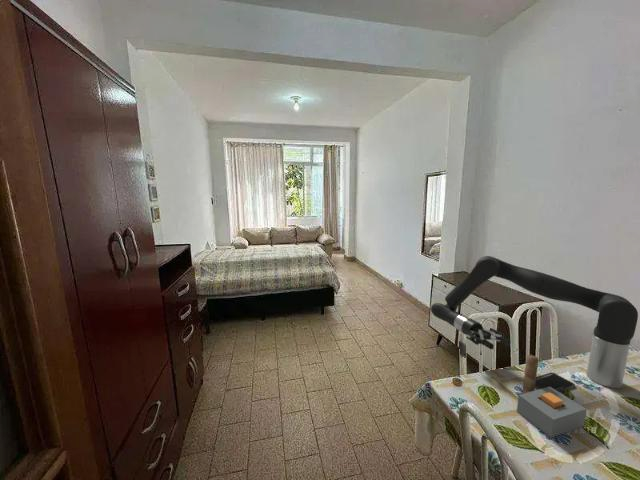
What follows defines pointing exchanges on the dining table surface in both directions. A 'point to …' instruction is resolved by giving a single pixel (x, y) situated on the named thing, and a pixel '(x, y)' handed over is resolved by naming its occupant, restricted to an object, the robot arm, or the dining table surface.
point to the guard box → (551, 412)
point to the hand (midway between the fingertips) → (501, 345)
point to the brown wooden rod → (530, 374)
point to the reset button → (551, 400)
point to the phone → (553, 382)
